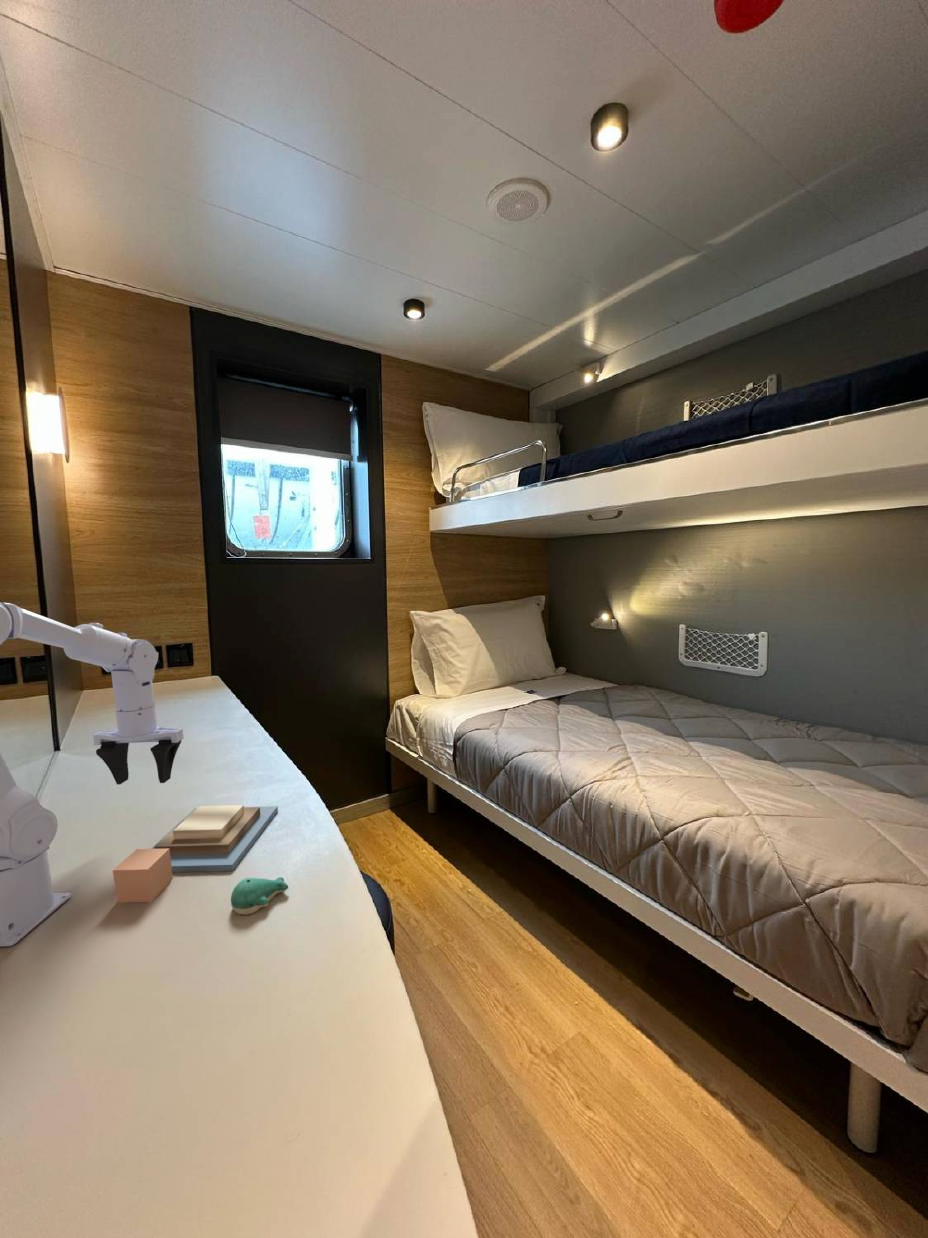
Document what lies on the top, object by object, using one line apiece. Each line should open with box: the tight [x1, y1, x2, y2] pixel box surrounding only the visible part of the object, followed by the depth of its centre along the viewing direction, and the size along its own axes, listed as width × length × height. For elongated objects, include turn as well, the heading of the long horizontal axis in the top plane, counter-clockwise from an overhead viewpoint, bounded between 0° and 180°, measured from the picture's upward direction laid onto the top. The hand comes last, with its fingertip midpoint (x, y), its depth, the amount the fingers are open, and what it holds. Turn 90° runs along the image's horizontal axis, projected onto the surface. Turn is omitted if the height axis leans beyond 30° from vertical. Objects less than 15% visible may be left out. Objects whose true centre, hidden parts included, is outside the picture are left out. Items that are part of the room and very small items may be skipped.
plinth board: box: [150, 804, 279, 873], centre depth 84 cm, size 18×16×4 cm
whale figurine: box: [230, 876, 289, 916], centre depth 68 cm, size 6×7×4 cm
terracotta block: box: [112, 848, 174, 903], centre depth 71 cm, size 5×5×5 cm
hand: (143, 781), depth 87 cm, fingers open, 7 cm apart
